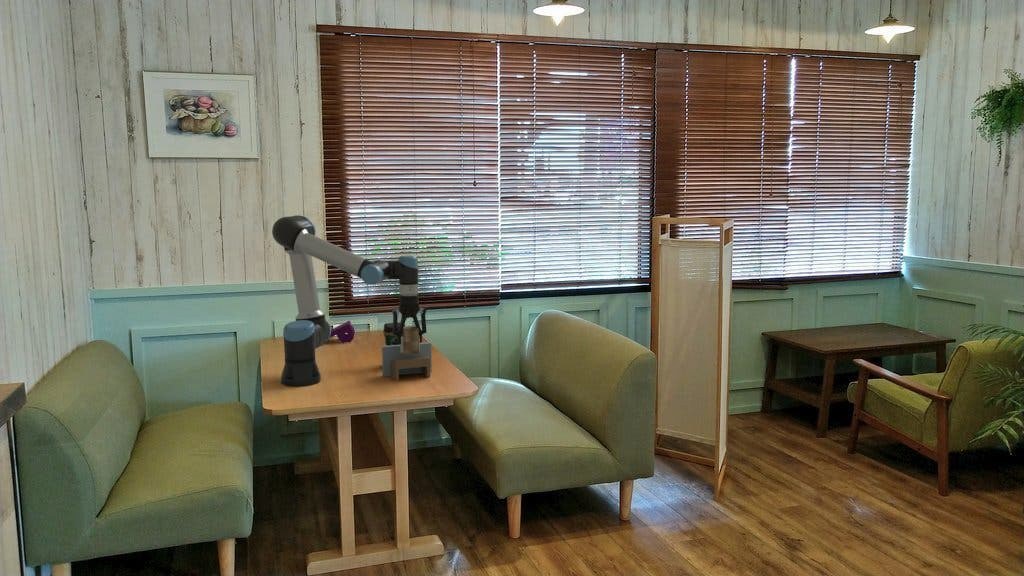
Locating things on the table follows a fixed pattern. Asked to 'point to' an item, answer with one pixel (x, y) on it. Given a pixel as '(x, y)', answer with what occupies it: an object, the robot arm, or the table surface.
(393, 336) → the coffee jar
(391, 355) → the wall board
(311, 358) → the robot arm
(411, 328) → the brown cylinder
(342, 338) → the mounting bracket
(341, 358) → the table surface
